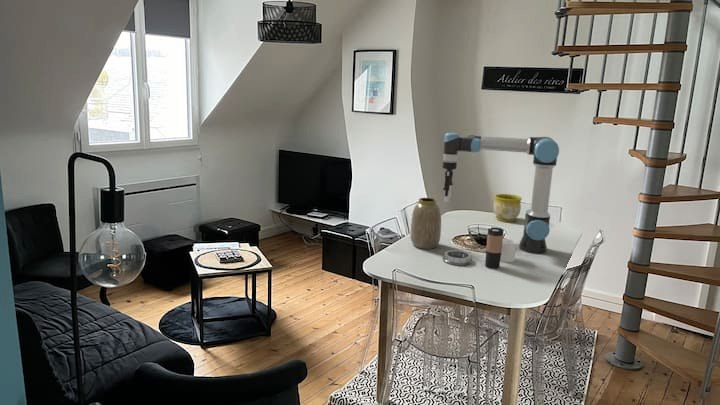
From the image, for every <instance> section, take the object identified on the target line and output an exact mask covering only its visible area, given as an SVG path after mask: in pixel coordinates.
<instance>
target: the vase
mask: <svg viewBox="0 0 720 405" xmlns="http://www.w3.org/2000/svg"><path fill="white" fill-rule="evenodd" d="M441 211H442V210H441V208H440V206H439V205H438V204H437V199H435V198H433V197H420V198H419V199H418V203H417V204H416V205H414V208H413V210H412V215H411V219H410V220H411V221H410V222H411V223H410V242H411V243H412V245H413V246H414V247H416V248H418V249H426V250H429V249H430V250H431V249H434V248H437V247H438V246H439V243H440V241H441V234H442V212H441Z"/></svg>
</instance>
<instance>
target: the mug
mask: <svg viewBox="0 0 720 405" xmlns="http://www.w3.org/2000/svg"><path fill="white" fill-rule="evenodd" d="M516 249H517V241H516V240H514V239H510V238H503V240H502V252H501V259H500V263H506V264H507V263H508V264H509V263H514V262H515V260H516V251H517V250H516Z"/></svg>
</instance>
